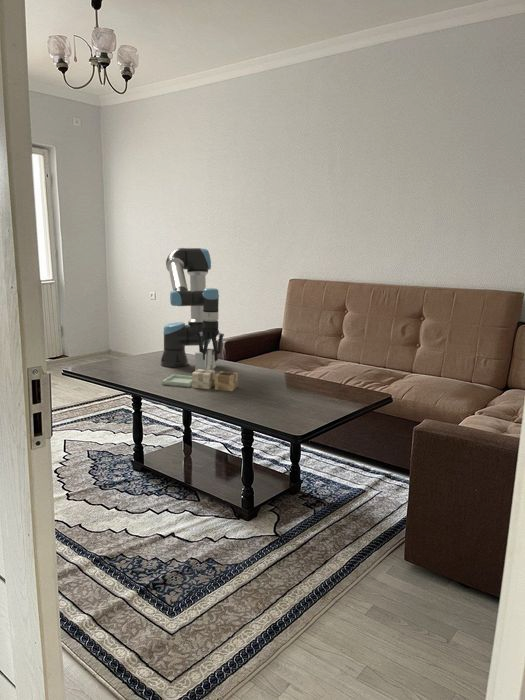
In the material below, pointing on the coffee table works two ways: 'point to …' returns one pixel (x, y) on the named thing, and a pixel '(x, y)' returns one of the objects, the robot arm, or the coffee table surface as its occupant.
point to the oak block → (226, 381)
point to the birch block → (203, 379)
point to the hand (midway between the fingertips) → (210, 366)
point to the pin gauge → (210, 359)
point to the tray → (178, 381)
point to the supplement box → (199, 361)
